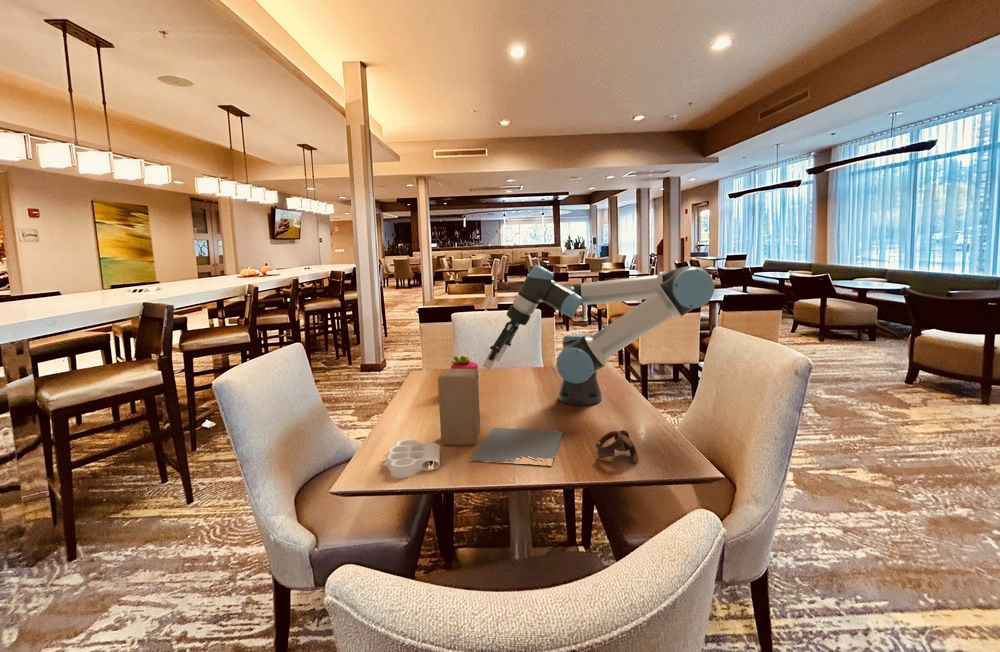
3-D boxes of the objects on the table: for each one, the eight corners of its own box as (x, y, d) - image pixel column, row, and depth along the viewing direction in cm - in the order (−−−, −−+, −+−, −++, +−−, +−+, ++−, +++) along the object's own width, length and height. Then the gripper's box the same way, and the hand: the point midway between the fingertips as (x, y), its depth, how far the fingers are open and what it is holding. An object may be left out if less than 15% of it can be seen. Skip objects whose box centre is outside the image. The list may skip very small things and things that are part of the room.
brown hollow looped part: (638, 471, 122) (621, 444, 121) (604, 481, 127) (587, 454, 126) (646, 442, 132) (630, 417, 131) (614, 452, 137) (598, 427, 136)
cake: (453, 388, 200) (452, 351, 198) (480, 388, 200) (478, 350, 198) (450, 396, 190) (448, 357, 188) (478, 395, 189) (476, 356, 187)
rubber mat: (563, 432, 148) (563, 431, 148) (551, 466, 125) (551, 465, 125) (493, 429, 153) (493, 427, 153) (470, 461, 130) (470, 459, 130)
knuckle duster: (439, 476, 123) (378, 481, 122) (440, 448, 141) (386, 452, 139) (438, 463, 123) (377, 468, 121) (439, 436, 140) (385, 441, 139)
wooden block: (481, 433, 150) (478, 367, 147) (476, 446, 140) (473, 376, 137) (447, 433, 151) (444, 368, 148) (440, 446, 141) (436, 376, 138)
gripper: (518, 301, 179) (490, 351, 184) (503, 307, 155) (471, 365, 160) (537, 311, 178) (508, 362, 183) (524, 319, 154) (491, 377, 159)
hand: (490, 363), depth 171 cm, fingers open, 13 cm apart
